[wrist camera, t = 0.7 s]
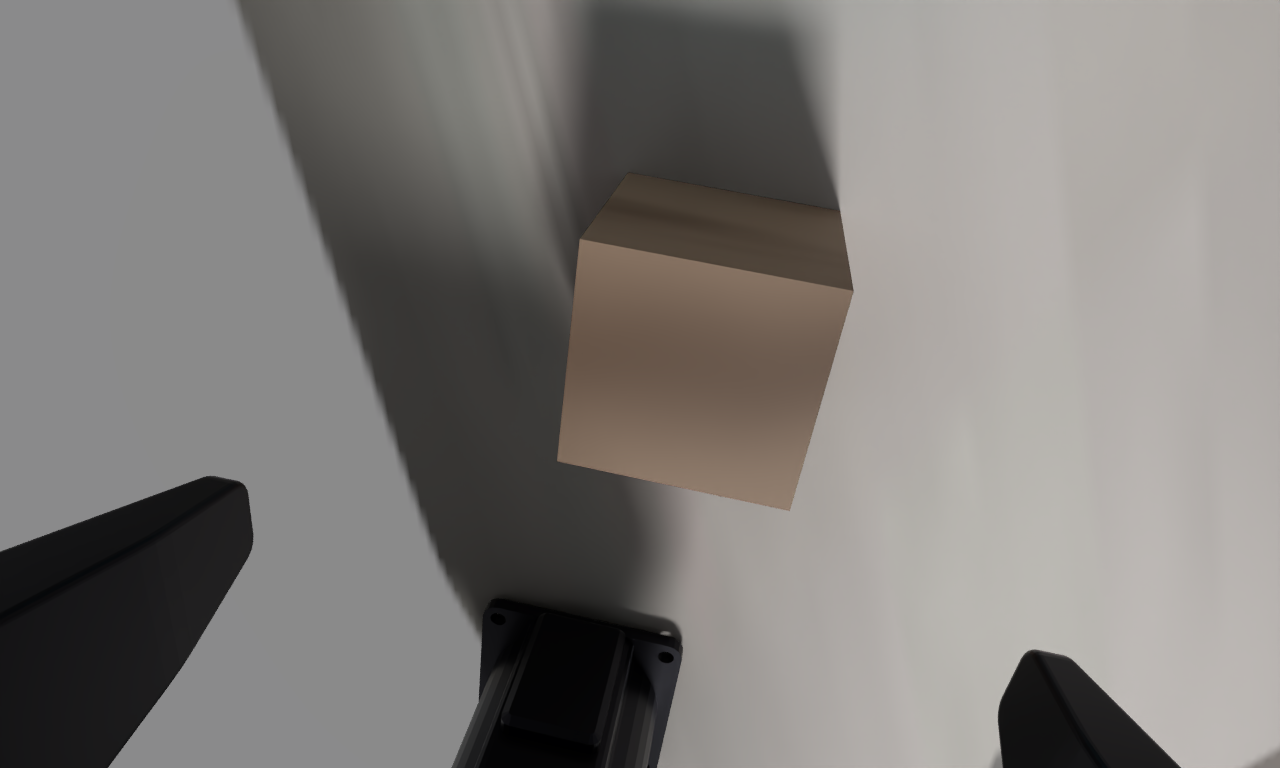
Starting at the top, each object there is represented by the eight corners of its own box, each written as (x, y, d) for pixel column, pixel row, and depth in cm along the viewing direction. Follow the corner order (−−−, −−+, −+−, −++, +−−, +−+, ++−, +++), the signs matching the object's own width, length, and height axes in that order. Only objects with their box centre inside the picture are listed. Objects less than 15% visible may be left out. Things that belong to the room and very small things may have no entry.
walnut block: (790, 394, 21) (789, 510, 17) (605, 356, 21) (556, 461, 17) (839, 210, 19) (853, 290, 14) (628, 171, 19) (580, 239, 15)
